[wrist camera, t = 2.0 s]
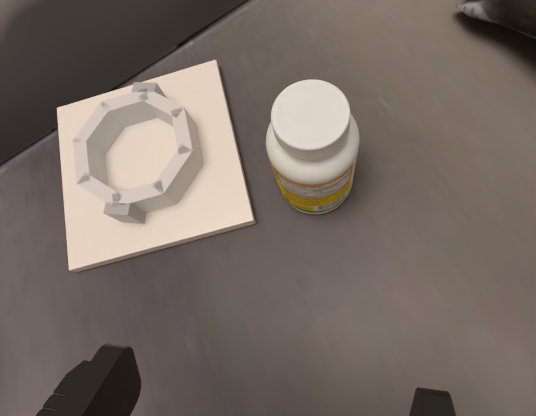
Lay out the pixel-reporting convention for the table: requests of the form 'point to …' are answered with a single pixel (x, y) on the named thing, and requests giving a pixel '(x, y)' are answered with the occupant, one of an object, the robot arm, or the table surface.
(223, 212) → the socket base
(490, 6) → the lucky cat figurine
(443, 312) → the table surface
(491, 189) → the table surface
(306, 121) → the supplement bottle
